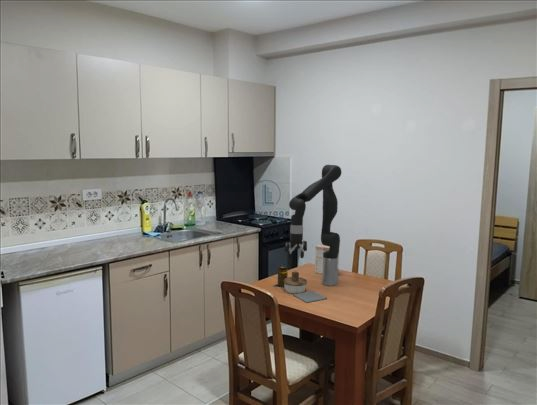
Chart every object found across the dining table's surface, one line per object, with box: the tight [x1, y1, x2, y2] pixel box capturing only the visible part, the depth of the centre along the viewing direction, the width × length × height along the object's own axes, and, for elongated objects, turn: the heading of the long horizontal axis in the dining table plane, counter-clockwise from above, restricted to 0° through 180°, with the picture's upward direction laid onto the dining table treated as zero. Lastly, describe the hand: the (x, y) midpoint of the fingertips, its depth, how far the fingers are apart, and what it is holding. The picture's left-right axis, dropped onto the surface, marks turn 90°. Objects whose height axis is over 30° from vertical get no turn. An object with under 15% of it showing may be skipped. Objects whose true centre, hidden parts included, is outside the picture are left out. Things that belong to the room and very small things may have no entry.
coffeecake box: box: [314, 243, 340, 275], centre depth 290 cm, size 15×7×20 cm, turn 52°
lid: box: [284, 271, 308, 286], centre depth 254 cm, size 14×14×6 cm
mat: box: [292, 290, 328, 304], centre depth 244 cm, size 14×14×1 cm
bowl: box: [283, 284, 307, 295], centre depth 255 cm, size 12×12×5 cm
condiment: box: [272, 265, 288, 289], centre depth 262 cm, size 7×8×12 cm
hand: (295, 258), depth 253 cm, fingers open, 8 cm apart
